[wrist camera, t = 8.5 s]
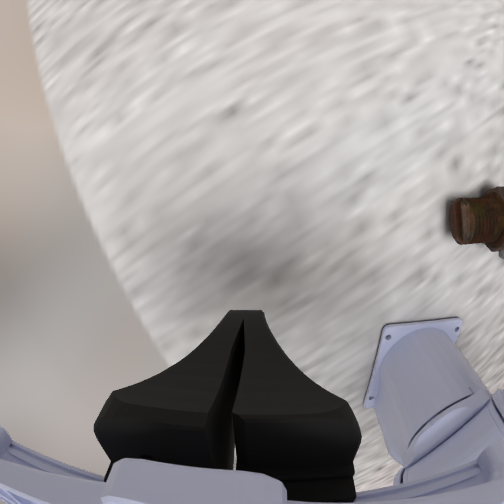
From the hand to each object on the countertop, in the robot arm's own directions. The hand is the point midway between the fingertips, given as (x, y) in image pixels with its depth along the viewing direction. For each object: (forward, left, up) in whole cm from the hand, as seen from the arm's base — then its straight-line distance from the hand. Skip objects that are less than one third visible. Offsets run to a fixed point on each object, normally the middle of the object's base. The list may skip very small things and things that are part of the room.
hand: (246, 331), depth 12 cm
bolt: (+4, -21, -10) cm, 24 cm away
